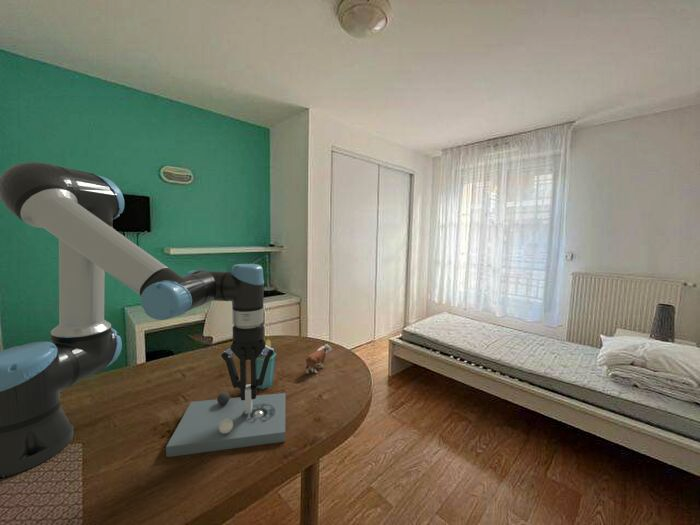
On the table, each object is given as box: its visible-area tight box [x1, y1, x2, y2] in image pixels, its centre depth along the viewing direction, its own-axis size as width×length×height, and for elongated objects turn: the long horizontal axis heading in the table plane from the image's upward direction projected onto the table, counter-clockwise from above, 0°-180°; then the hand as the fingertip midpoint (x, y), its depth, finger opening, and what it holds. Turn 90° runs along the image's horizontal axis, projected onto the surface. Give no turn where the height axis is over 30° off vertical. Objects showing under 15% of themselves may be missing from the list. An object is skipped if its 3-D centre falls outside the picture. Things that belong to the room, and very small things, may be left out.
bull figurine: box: [305, 343, 333, 375], centre depth 105 cm, size 4×13×8 cm, turn 148°
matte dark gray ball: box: [216, 391, 231, 405], centre depth 78 cm, size 3×3×3 cm
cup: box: [257, 339, 277, 390], centre depth 91 cm, size 14×8×15 cm, turn 11°
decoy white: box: [219, 418, 233, 434], centre depth 67 cm, size 3×3×3 cm
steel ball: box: [252, 410, 265, 419], centre depth 75 cm, size 3×3×3 cm
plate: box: [165, 392, 286, 458], centre depth 73 cm, size 26×17×2 cm, turn 103°
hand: (248, 410), depth 74 cm, fingers closed
